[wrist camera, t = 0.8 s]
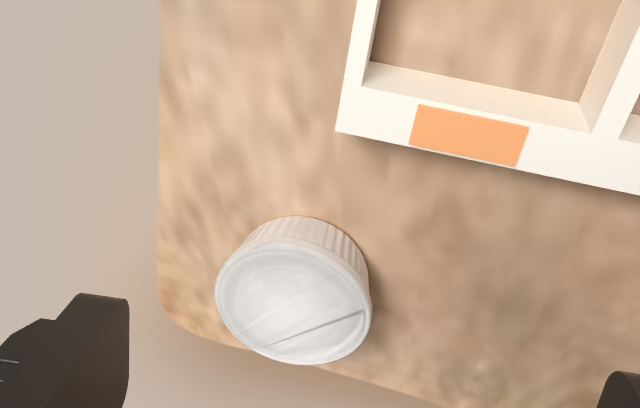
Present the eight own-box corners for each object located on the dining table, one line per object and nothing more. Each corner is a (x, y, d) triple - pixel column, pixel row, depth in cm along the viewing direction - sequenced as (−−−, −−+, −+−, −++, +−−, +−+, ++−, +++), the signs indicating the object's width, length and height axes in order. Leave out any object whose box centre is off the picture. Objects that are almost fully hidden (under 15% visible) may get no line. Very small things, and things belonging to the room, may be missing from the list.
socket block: (392, -164, 30) (384, -158, 27) (997, -57, 28) (1074, -36, 25) (344, 102, 38) (333, 133, 35) (810, 199, 36) (848, 242, 33)
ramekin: (341, 337, 50) (331, 388, 46) (216, 281, 49) (193, 328, 45) (405, 243, 44) (400, 292, 39) (263, 176, 43) (242, 219, 38)
